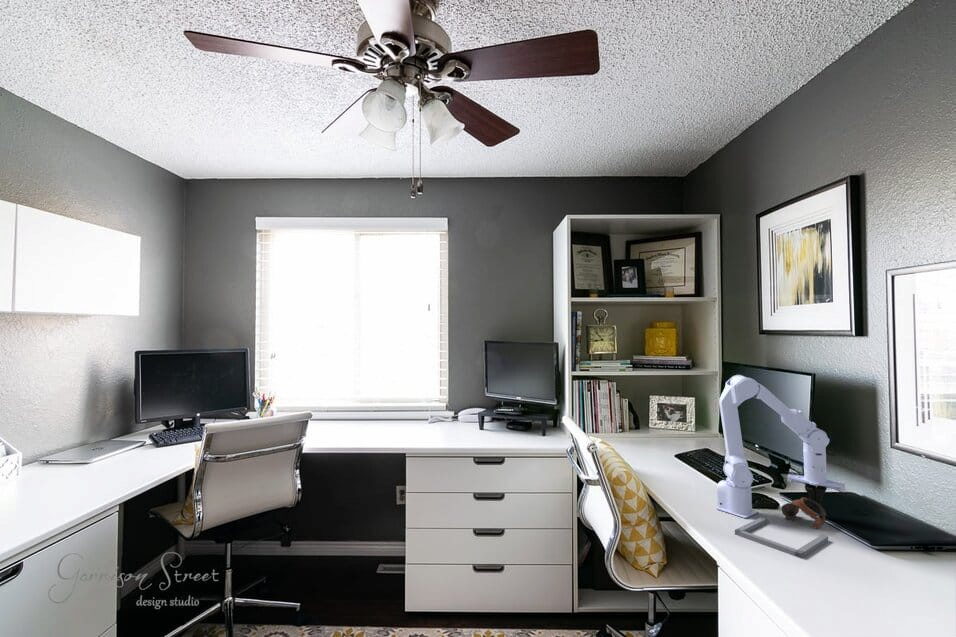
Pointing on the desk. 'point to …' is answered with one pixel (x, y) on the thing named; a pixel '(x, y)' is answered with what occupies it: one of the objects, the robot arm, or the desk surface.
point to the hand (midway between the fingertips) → (816, 509)
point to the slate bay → (799, 553)
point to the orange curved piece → (804, 510)
